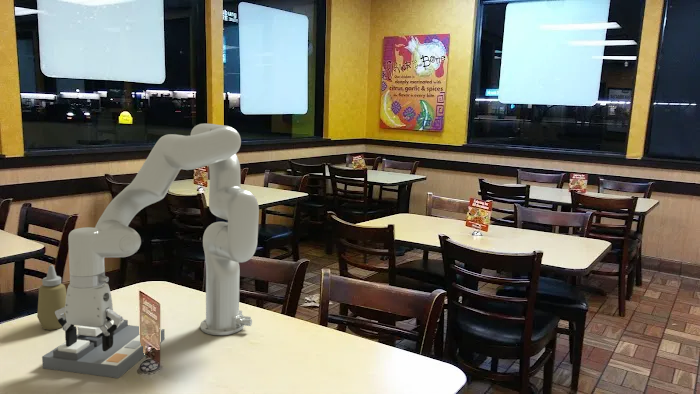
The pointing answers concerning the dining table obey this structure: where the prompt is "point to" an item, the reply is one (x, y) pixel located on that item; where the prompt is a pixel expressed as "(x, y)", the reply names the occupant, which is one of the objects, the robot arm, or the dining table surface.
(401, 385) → the dining table surface
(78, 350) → the switch
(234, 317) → the robot arm
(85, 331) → the switch
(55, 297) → the squeeze bottle
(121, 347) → the switch box
